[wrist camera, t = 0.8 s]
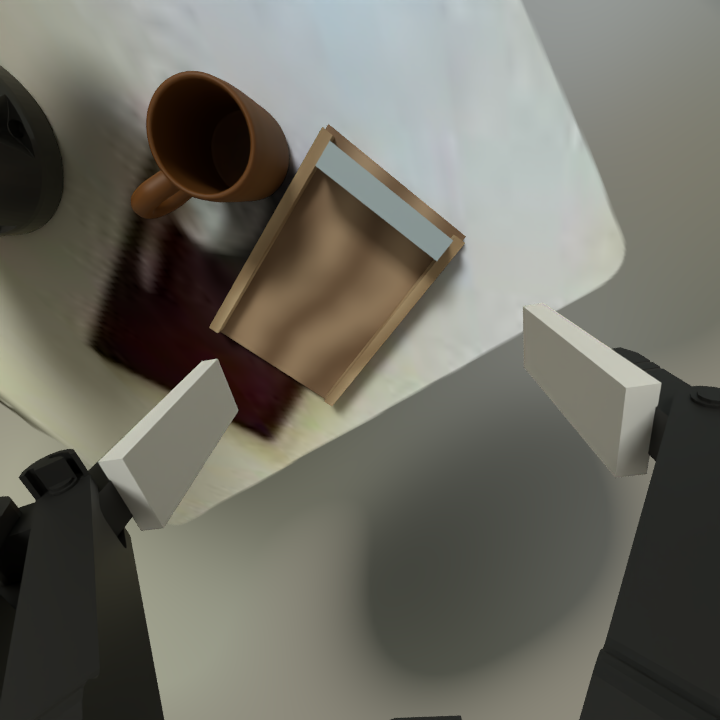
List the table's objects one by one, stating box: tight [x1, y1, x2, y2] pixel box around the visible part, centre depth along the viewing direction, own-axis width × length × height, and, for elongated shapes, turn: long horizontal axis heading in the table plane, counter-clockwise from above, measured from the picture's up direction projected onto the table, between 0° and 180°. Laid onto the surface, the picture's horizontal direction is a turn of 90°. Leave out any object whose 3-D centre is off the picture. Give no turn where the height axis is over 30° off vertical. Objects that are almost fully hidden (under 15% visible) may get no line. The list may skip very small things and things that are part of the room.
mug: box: [131, 71, 289, 219], centre depth 29 cm, size 12×8×9 cm, turn 124°
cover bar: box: [315, 141, 453, 261], centre depth 30 cm, size 12×2×4 cm, turn 54°
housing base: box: [209, 124, 466, 406], centre depth 35 cm, size 15×22×3 cm
